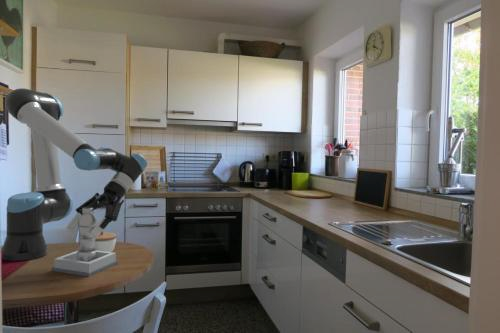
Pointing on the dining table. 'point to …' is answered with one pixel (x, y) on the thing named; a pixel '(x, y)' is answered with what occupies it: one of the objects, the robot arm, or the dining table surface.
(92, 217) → the plastic bottle
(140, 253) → the dining table surface
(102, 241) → the lidded jar
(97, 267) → the light grey square tray
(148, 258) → the dining table surface
